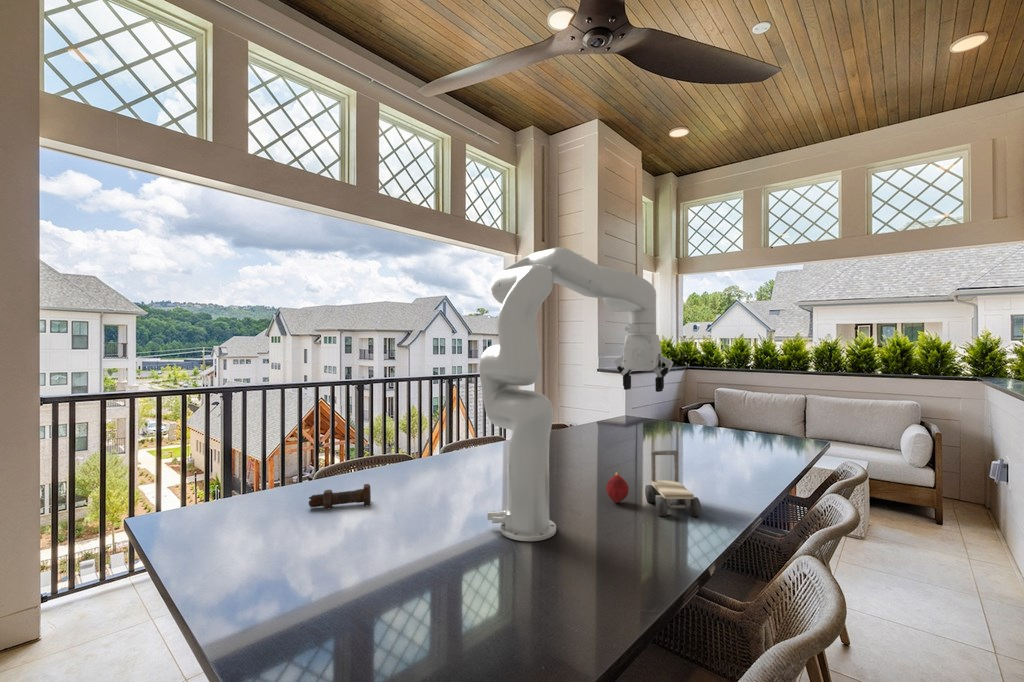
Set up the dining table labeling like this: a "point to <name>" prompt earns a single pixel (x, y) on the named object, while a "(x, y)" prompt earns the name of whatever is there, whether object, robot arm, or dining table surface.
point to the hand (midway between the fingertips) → (642, 390)
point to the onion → (617, 488)
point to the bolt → (341, 497)
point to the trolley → (670, 490)
